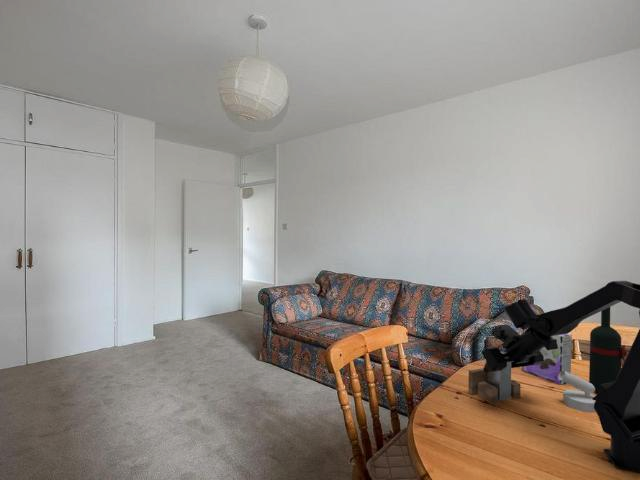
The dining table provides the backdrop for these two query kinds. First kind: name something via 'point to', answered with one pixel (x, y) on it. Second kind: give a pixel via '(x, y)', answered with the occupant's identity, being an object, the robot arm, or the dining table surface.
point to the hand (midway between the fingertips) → (496, 368)
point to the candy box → (553, 360)
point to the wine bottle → (605, 352)
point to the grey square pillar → (501, 381)
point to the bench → (487, 386)
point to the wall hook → (578, 393)
